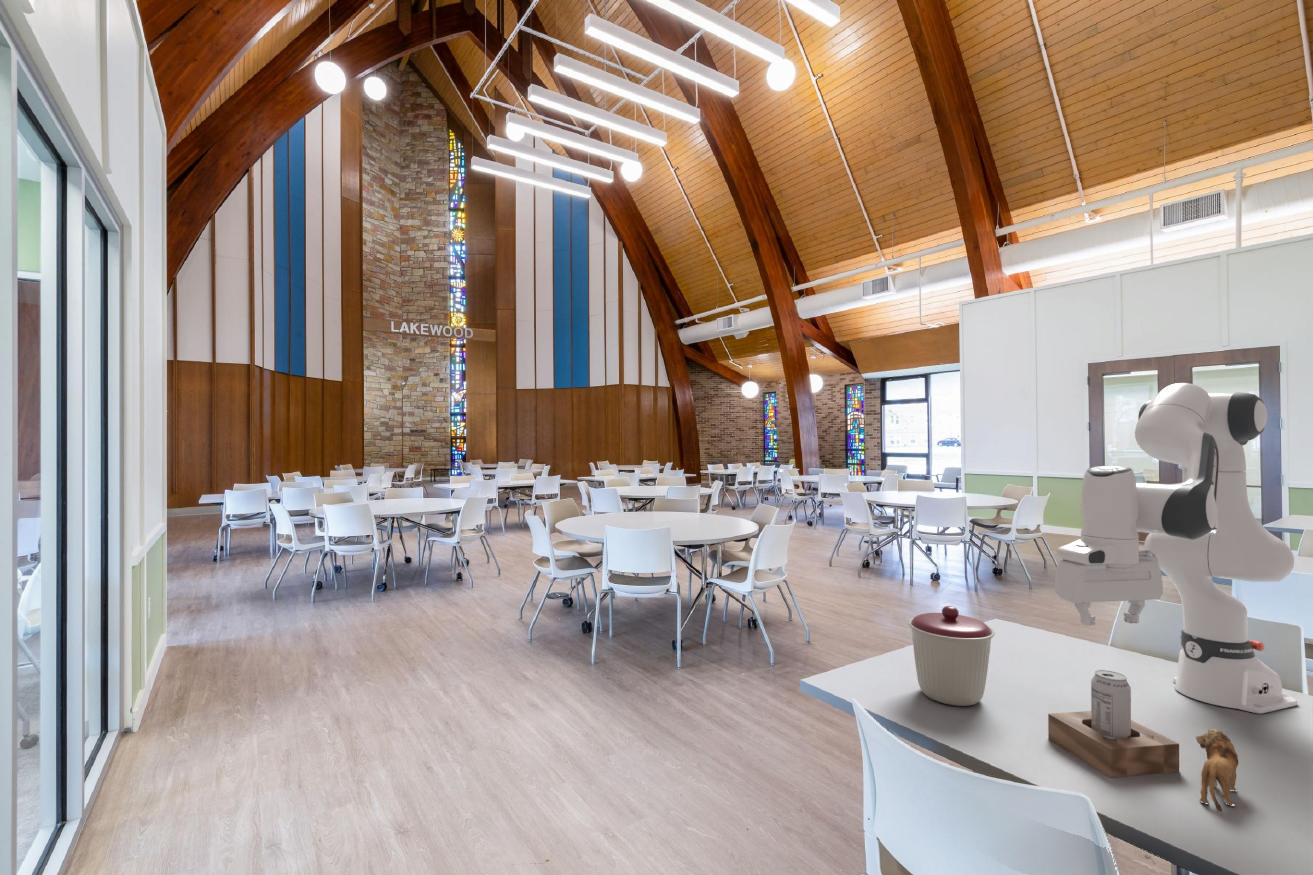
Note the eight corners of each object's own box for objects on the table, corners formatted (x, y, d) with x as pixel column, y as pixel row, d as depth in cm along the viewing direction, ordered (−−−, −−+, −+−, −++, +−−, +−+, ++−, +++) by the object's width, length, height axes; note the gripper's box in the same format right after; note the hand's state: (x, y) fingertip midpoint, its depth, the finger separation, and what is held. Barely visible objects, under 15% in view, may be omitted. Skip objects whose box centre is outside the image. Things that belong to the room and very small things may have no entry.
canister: (978, 684, 147) (978, 598, 147) (1007, 717, 129) (1007, 619, 129) (900, 679, 150) (900, 594, 150) (918, 710, 132) (918, 615, 133)
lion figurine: (1195, 771, 108) (1195, 721, 108) (1236, 782, 105) (1235, 730, 105) (1199, 809, 97) (1199, 753, 97) (1245, 822, 93) (1245, 764, 93)
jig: (1110, 734, 122) (1110, 709, 122) (1179, 771, 108) (1179, 743, 108) (1048, 738, 120) (1048, 713, 120) (1110, 777, 106) (1110, 748, 106)
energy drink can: (1138, 763, 111) (1138, 681, 111) (1102, 760, 112) (1102, 679, 112) (1118, 747, 117) (1118, 669, 117) (1084, 744, 117) (1084, 667, 118)
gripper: (1141, 546, 119) (1141, 616, 119) (1048, 549, 116) (1049, 620, 116) (1173, 552, 113) (1173, 626, 112) (1076, 555, 110) (1076, 631, 110)
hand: (1109, 623), depth 114 cm, fingers open, 8 cm apart
